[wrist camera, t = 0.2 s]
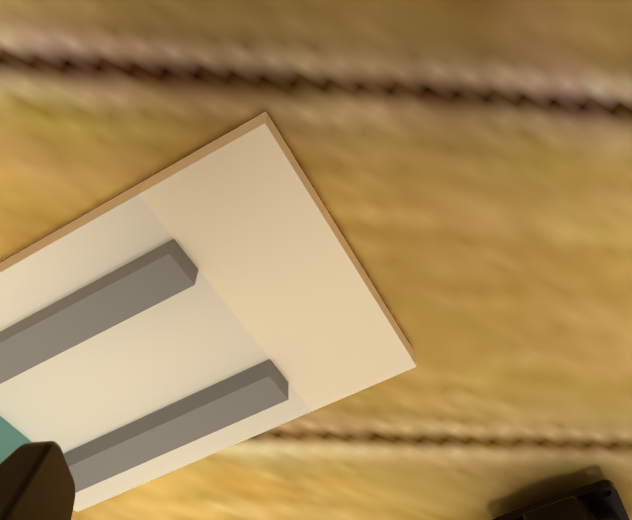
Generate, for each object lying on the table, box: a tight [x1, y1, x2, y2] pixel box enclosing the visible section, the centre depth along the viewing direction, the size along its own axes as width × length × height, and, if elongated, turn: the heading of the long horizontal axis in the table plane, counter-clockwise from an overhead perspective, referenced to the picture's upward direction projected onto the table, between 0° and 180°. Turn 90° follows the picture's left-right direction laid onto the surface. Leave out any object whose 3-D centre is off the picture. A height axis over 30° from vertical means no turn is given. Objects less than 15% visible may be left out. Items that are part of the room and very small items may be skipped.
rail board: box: [0, 111, 417, 512], centre depth 23 cm, size 12×18×4 cm, turn 119°
